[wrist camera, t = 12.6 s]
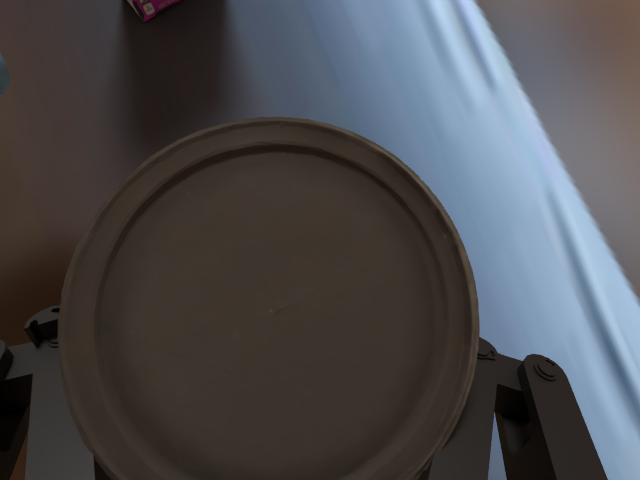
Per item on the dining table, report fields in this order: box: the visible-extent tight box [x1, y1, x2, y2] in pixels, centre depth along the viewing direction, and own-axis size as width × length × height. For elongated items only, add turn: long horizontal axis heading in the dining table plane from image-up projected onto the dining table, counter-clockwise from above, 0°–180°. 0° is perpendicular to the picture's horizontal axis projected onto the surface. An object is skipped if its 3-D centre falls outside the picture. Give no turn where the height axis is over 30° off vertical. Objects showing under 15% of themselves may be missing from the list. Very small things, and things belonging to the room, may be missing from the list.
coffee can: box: [58, 117, 479, 480], centre depth 15 cm, size 10×10×14 cm
